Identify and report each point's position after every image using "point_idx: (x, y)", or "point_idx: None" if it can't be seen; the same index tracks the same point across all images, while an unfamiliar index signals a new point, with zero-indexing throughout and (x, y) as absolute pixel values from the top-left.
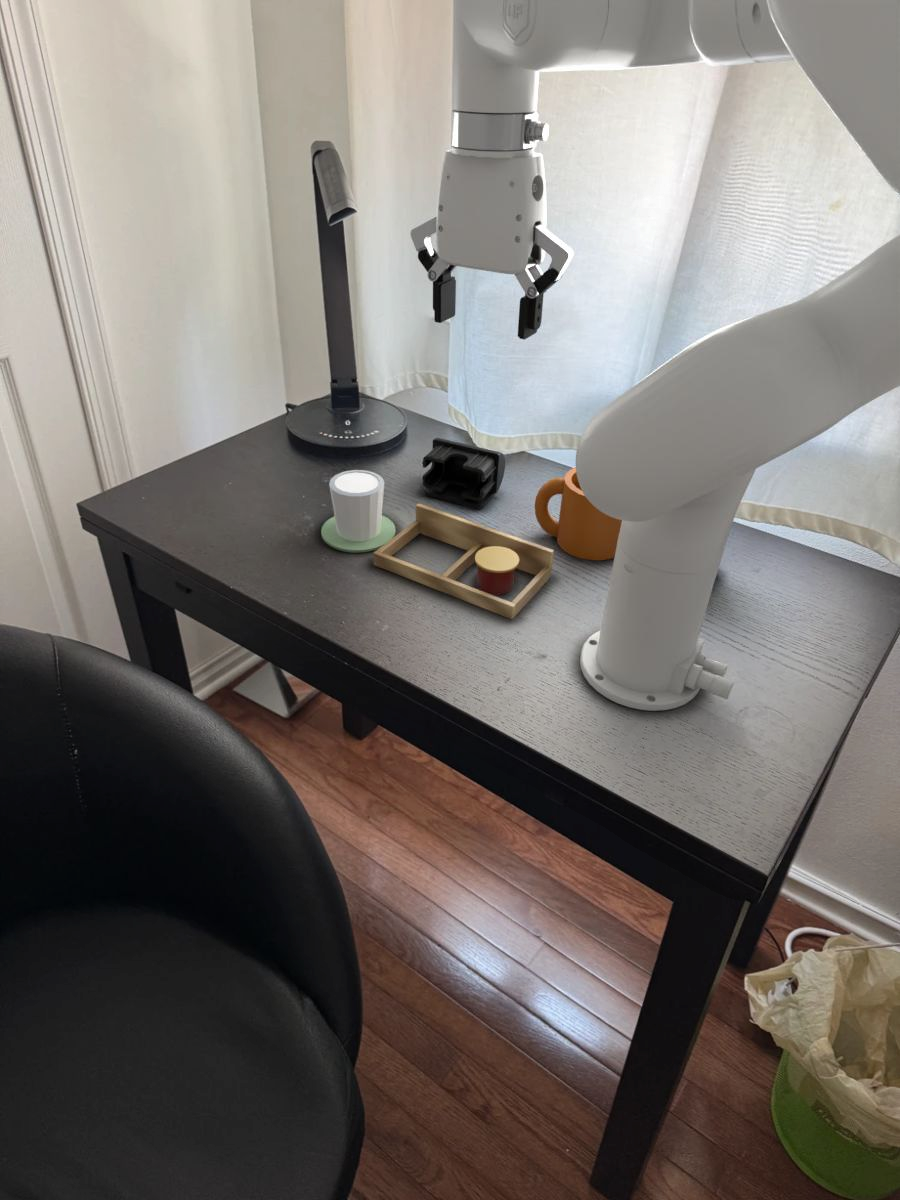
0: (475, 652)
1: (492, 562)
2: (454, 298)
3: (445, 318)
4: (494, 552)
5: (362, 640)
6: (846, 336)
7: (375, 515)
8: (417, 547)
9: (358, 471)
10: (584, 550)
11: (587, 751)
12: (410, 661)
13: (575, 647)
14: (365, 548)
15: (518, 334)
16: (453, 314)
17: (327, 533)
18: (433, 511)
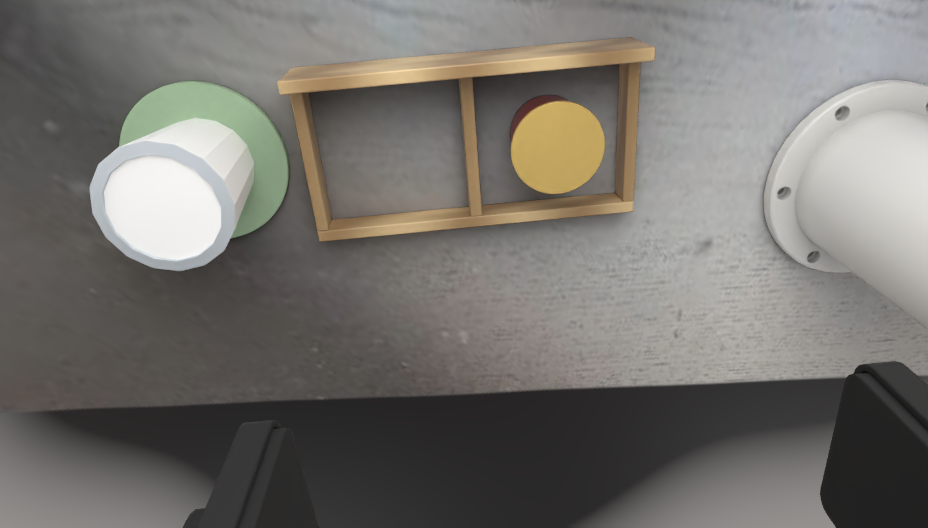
0: (611, 298)
1: (558, 168)
2: (264, 523)
3: (312, 519)
4: (542, 135)
5: (456, 374)
6: None
7: (245, 187)
8: (341, 126)
9: (116, 167)
10: None
11: (819, 351)
12: (541, 365)
13: (747, 194)
14: (274, 208)
15: (832, 515)
16: (292, 449)
17: None
18: (332, 89)
